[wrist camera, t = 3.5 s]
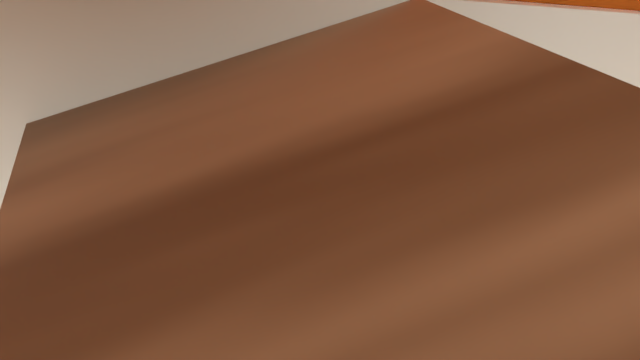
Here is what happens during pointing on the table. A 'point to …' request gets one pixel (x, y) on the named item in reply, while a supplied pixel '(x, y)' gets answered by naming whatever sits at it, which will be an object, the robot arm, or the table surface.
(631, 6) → the table surface
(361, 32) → the wooden box
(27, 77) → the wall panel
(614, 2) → the table surface
